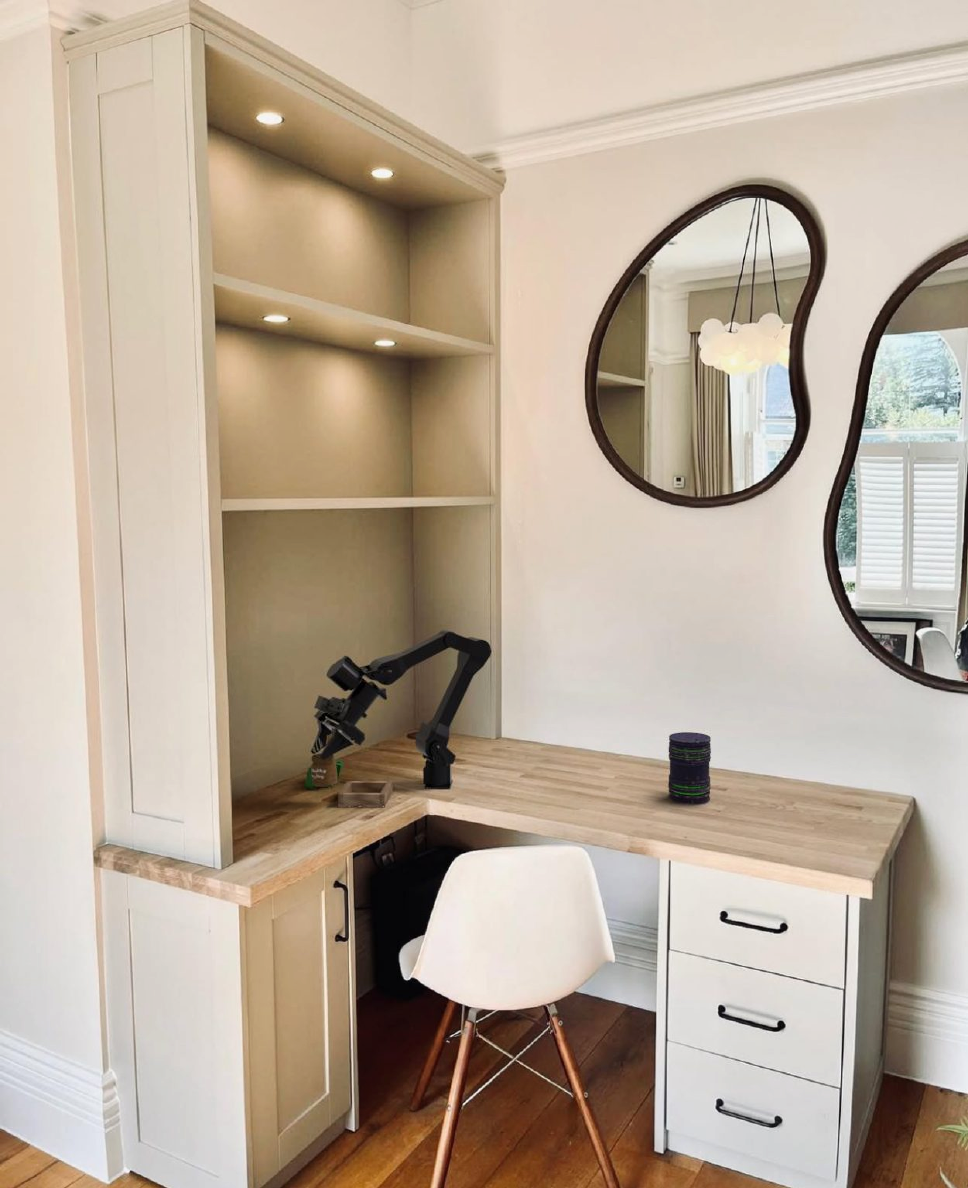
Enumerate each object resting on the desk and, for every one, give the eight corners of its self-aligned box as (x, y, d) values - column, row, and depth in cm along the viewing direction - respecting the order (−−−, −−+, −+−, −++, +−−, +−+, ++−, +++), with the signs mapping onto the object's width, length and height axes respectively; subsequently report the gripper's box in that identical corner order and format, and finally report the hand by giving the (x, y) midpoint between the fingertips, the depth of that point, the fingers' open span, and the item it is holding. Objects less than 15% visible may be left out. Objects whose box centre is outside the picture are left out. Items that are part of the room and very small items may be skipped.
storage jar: (660, 795, 241) (660, 734, 240) (695, 790, 245) (696, 730, 243) (682, 806, 232) (682, 743, 230) (718, 802, 235) (719, 739, 234)
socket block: (392, 795, 245) (392, 781, 245) (384, 809, 234) (384, 794, 234) (348, 794, 246) (347, 780, 245) (338, 808, 235) (338, 794, 235)
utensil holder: (325, 780, 241) (320, 730, 240) (344, 782, 237) (339, 731, 236) (307, 786, 236) (302, 735, 236) (325, 788, 232) (320, 737, 232)
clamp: (326, 805, 250) (328, 778, 246) (303, 799, 251) (305, 771, 247) (344, 776, 261) (346, 749, 256) (322, 769, 262) (324, 742, 257)
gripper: (319, 677, 245) (278, 728, 240) (350, 688, 229) (306, 743, 224) (351, 704, 249) (311, 754, 245) (382, 717, 233) (341, 772, 229)
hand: (316, 755), depth 236 cm, fingers closed on utensil holder, 5 cm apart
